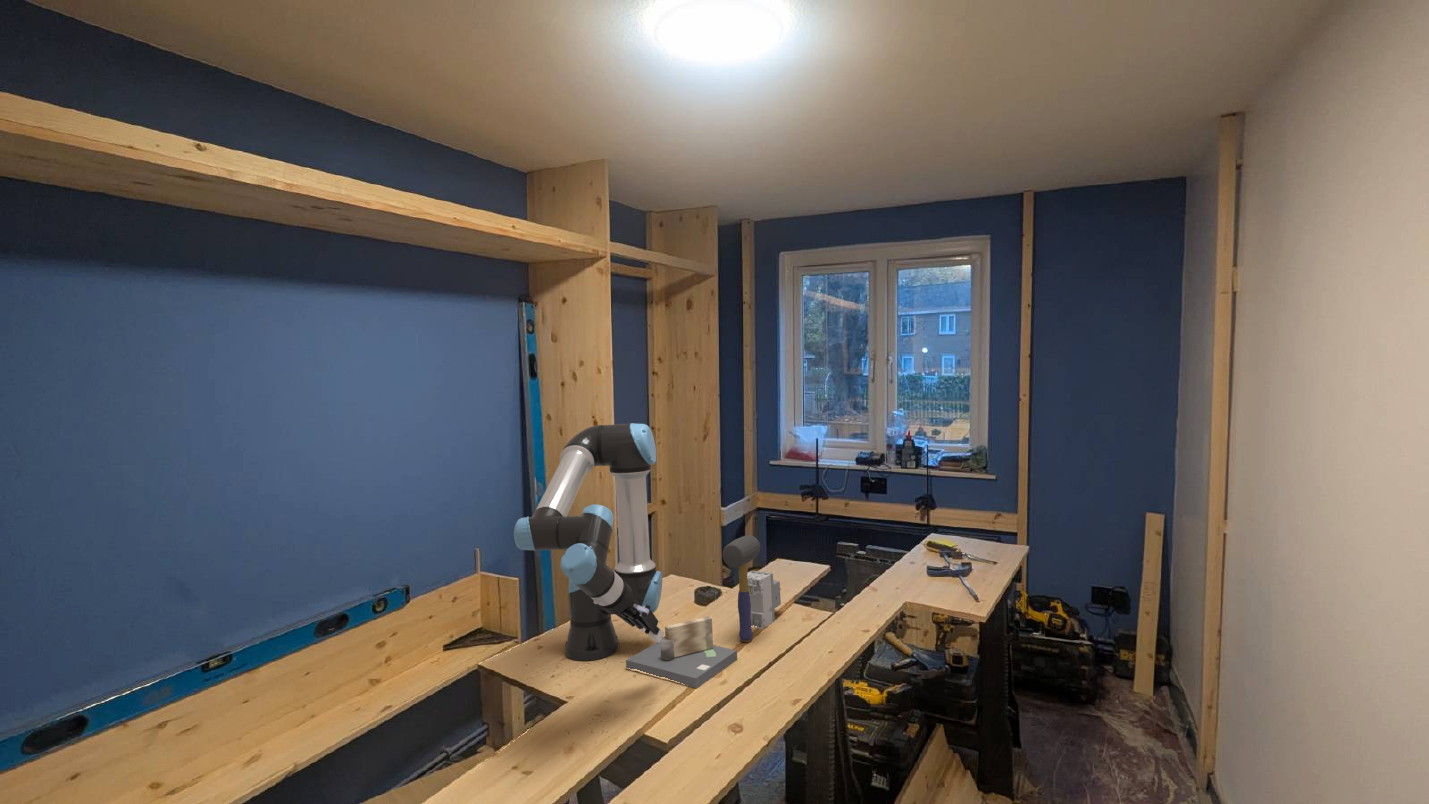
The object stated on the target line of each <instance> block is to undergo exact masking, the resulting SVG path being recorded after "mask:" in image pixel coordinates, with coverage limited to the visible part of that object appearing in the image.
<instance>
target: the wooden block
mask: <svg viewBox="0 0 1429 804" xmlns="http://www.w3.org/2000/svg"><path fill="white" fill-rule="evenodd" d="M664 629H665V630H664V634H665V635H664V636H662V639H661V641H660V646H661V659H662V660H672V659H674V658H675V657H678V656H682V655H686V654H690V653H694V652H698V651H702V650H706V649H711V648H713V645H714V640H713V639H714V634H713V618H712V617H711V616H704V617H700V618H697V619H692V620H687V621H684V622H678V623H674V624H669V625H665V626H664Z"/></svg>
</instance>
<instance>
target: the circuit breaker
mask: <svg viewBox="0 0 1429 804" xmlns="http://www.w3.org/2000/svg"><path fill="white" fill-rule="evenodd" d="M747 577H748V591H749V595H750V602H751V614H750V619H751V626H753V625H754V627H755V626H757V628H756V629H758V630H764V629H766V628H767V627H768V626H770V625H771V624H773V623H775V621H776V614H775V610H776V609H777V607H779V606H781V604H782V601H781V590H782V589H781V583H780V580H774V573H773V572H766V571H758V570H750V571H747Z"/></svg>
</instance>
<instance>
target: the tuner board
mask: <svg viewBox="0 0 1429 804" xmlns="http://www.w3.org/2000/svg"><path fill="white" fill-rule="evenodd" d="M737 660H738V649H737V650H736V649H733V648H729V647H723V646H720V645H716V644H713V648H711V649H706V650H702V651H698V652H694V653H690V654H686V655H682V656H678V657H675V658H674V659H672V660H662V659H661V646H660V643H658V642H654V644H651V645H650V646H648V647H647V648H645V649H643V650H641V651H639V652H638V653H636V654H634V655H633V656H631V657H628V658H627V659H626V660H625V669H626V668H630V669H637V670H640V671H643V672H646V673H649V674H653V675H656V676H659V677H665V678H668V679H670V680H674V681H677V682H680V683H683V684H685V685H688V686H687V687H690V688H693V689H698V688H699V687H701V686H702V685H704V684H705V683H707V682H708V681H709V680H711V679H712V678H713V677H715V676H716V675H718V674H719V673H720V672H722V671H723V670H725V669H727V668H728V667H729V666H731V665H732V664H734V662H737ZM685 685H684V686H685Z"/></svg>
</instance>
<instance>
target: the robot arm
mask: <svg viewBox="0 0 1429 804" xmlns="http://www.w3.org/2000/svg"><path fill="white" fill-rule="evenodd" d="M656 461H657V449H656V442H655V438H654V433H653V431H652V430H651V428H650V427H649V425H647V424H646V423H632V422H631V423H619V424H618V423H617V424H616V423H615V424H598V425H597V424H595V425H592V426H590V427H586V428H584V429H583V430H582V431H579V432H578V433H577V434H575V435H574V436H573V437H572V438H571V439H570V440H569V441H568V442H567V443H566V444H565V445H564V447H563V449H562V451H561V452H560V454H559V464H558V465H557V466H558V467H557V468H556V470H555V472H554V474H553V476H552V477H551V479H550V482H549V484H548V486H547V488H546V489H545V491H544V493H543V495H542V497H541V499H540V501H539V503H538V505H537V507H536V508H535V510H534V513H533V514H532V516H526V517H521V518H519V519H517V521H516V522H515V525H514V529H513V539H514V540H513V541H514V542H515V545H516V547H517V548H518V549H519V550H521V551H533V552H536V551H554V550H555V551H558V550H561V551H562V550H565V552H564V554H563V555H562V556H561V559H560V562H559V566H560V567H559V568H560V570H561V571H562V573H563V574H564V576H566V578H567V579H568V589H567V593H568V604H569V605H568V609H569V620H570V621H569V622H570V623H569V629H568V632H567V633H568V634H567V640H566V641H565V646H564V649H565V656H566V657H567V658H569V659H570V660H574V661H575V660H576V661H580V662H581V661H584V662H585V661H594V660H595V661H596V660H601V659H604V658H606V657H609V656H612V655H614V654H615V653H616V652H617V651H618V650H619V647H620V644H619V642H620V641H619V637H618V635H617V633H616V629H615V627H614V624H613V621H612V615H616V616H617V617H619V618H620V619H621V620H623V621H624V622H625V623H627V624H628V625H629V626H631V627H633V628H634V627H636V628H637V629H639V630H642V631H643V633H645V634H646V635H647V636H648V637H649V638H650V639H652V641H654V643H657V642H658V643H660V641H661V639H662V637H664V636H663V635H664V634H665V631H663V629H661V628H660V627H659V626H658V624H659V620H658V618H657V617H656V615H655V612H657V610H658V608H659V605H660V600H661V595H662V592H663V591H662V590H663V574H662V573H663V572H662V571H659V570H657V568H656V567H657V566H656V563H655V562H654V560H652V559H651V556H650V555H651V553H650V535H649V533H650V532H649V516H648V493H647V475H648V474H649V473H650V472H651V470H652V467H651V465H654V464H655V463H656ZM599 466H601V467H602V466H603V467H607V466H608V467H609V474H610V475H611V476H612V477H614V479H615V495H616V496H615V497H616V513H617V516H616V517H617V532H618V533H617V534H618V535H617V536H618V537H617V538H618V553H619V556H618V557H619V562H618V563H617V564H616V565H615V566H614V570H613V568H612V567H610V565H608V564H607V559H608V553H609V549H610V543H611V540H612V539H611V538H612V535H613V534H612V533H613V532H614V529H613V527H614V526H613V525H614V514H613V512H612V510H611V509H610V508H608V507H606V506H605V505H601V504H590V505H589V506H586V507H584V509H582V510H583V511H582V512H581V514H580V515H570V516H569V513H570V511H571V508H572V506H573V504H574V502H575V499H576V497H577V495H578V493H579V491H580V488H581V486H582V484H583V482H584V479H585V477H586V475H587V474H589V473H591V471H592V470H593V468H595V467H599Z"/></svg>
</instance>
